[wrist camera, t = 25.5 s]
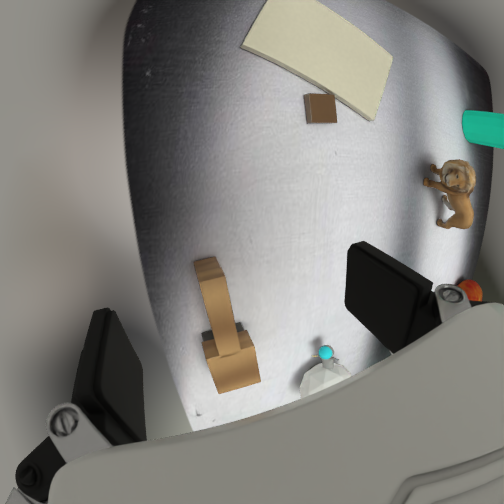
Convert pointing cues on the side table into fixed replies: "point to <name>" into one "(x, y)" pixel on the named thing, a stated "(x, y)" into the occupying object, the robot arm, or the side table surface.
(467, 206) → the lion figurine
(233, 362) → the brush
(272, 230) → the side table surface
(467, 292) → the fruit
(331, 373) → the perfume bottle
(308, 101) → the mud flake
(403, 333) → the robot arm
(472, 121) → the candle
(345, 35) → the tile
